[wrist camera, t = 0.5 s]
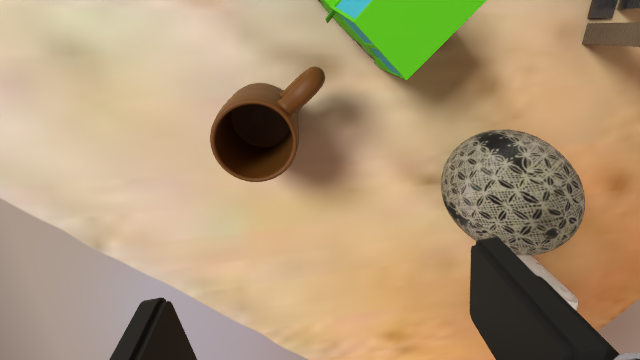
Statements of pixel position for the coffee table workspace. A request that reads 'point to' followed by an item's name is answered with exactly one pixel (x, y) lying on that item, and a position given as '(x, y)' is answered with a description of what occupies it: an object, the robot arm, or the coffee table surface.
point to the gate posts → (612, 25)
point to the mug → (262, 127)
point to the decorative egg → (513, 191)
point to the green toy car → (400, 28)
